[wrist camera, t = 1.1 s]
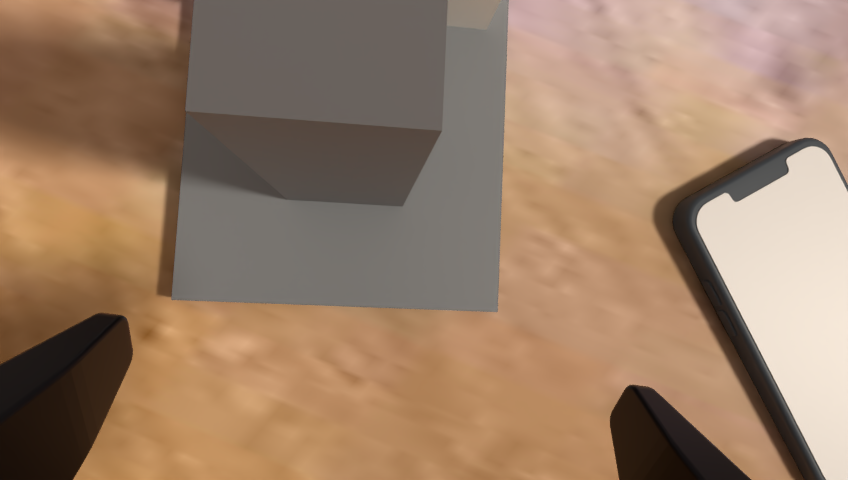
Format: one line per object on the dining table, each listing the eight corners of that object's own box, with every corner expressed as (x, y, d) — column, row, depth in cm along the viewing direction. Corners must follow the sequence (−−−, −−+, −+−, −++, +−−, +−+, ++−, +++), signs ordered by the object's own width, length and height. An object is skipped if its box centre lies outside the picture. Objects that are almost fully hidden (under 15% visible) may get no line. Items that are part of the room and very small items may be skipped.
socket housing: (493, 310, 23) (569, 335, 14) (178, 298, 22) (48, 318, 13) (507, -79, 24) (584, -275, 16) (211, -116, 23) (112, -355, 14)
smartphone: (933, 405, 26) (795, 134, 26) (969, 414, 24) (824, 126, 24) (800, 493, 25) (656, 211, 25) (830, 509, 23) (676, 208, 23)
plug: (402, 206, 22) (442, 130, 10) (287, 199, 21) (185, 111, 10) (408, 74, 22) (454, -149, 10) (296, 64, 22) (208, -182, 10)
